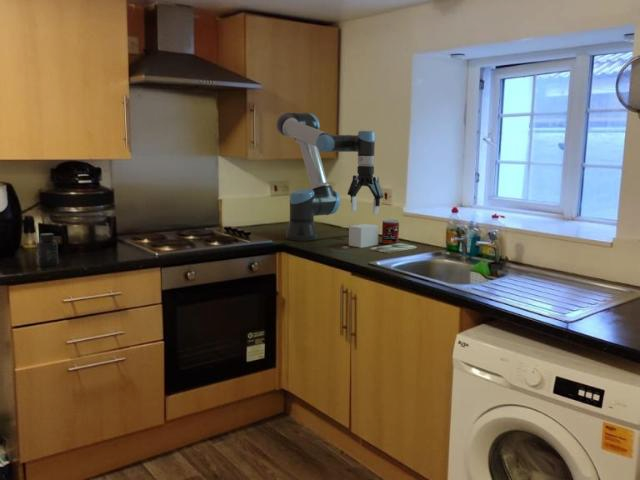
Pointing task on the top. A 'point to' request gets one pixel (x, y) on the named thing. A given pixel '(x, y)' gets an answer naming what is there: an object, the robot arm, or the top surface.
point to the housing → (363, 235)
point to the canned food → (390, 231)
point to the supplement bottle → (47, 250)
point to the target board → (393, 248)
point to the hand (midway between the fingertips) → (364, 212)
